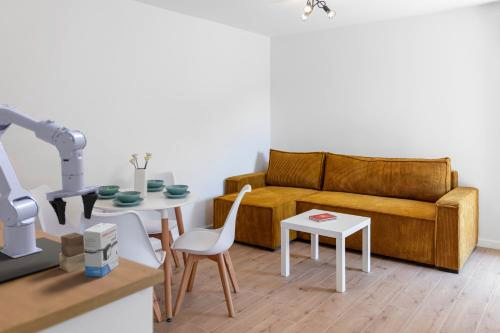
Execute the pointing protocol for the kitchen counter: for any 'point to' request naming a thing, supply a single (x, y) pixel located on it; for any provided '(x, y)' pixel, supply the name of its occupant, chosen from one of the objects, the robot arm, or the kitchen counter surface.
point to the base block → (72, 262)
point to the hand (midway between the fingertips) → (75, 221)
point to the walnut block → (72, 244)
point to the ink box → (100, 249)
